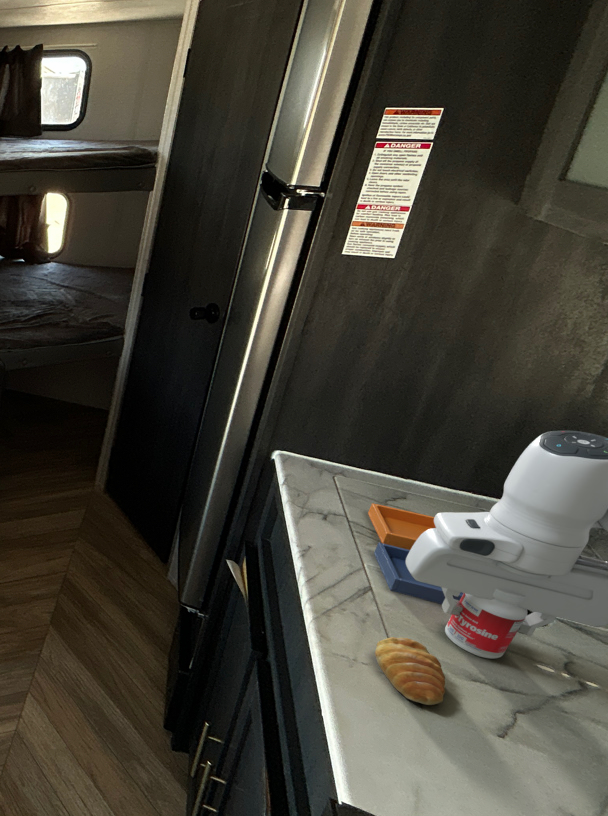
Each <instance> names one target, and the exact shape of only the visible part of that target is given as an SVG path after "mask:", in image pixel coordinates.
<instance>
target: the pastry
mask: <svg viewBox="0 0 608 816" xmlns="http://www.w3.org/2000/svg"><path fill="white" fill-rule="evenodd" d="M374 653H375V658H376V661H377V664H378V666H379V668H380V669H381V671H382V672H383V674H384V675H385V678H387V679H388V681H389V683H391V685H392V687H394V689H396V690H397V691H398V692H399V693H400V694H402V695H403V697H405V698H406V699H407V700H409V701H412V702H416V703H420V704H422V705H426V706H434V705H436V704H440V703H442V702H443V701H444V695H445V693H446V689H445V686H446V675H445V674H444V672H443V669H442V664H441V662H440V661H439V659H438V658H437V656H435V655H433V654H431V653H430V651H428V648H427V647H426V646H425V645H424V644H422V643H421V642H419V641H417V640H413V639H410V638H408V637H394V636H393V637H387V638H384V639H382V640H379V641H378V642H377V643H376V647H375V651H374Z"/></svg>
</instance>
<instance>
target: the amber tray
mask: <svg viewBox="0 0 608 816" xmlns="http://www.w3.org/2000/svg"><path fill="white" fill-rule="evenodd" d="M367 515H368V517H369V519H370V522H371V523H372V525H373V528H374V530H375V532H376V534H377V536H378V538H379V540H380V543H383V544H387V545H391V546H395V547H400V548H404V549H408V550H411V548H412V546H413V545H414V543H415V542H416V540H417V539H418V538H419V536H420V535H421V534H422V533H423V532H425V531H426V530H428V529H432V528H436V527H435V524H434V518H435V516H432V515H427V514H423V513H419V512H414V511H410V510H406V509H405V510H404V509H401V508H395V507H391V506H387V505H382V504H378V503H372V502H371V505H370V507H369V509H368V512H367Z"/></svg>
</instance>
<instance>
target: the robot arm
mask: <svg viewBox="0 0 608 816" xmlns="http://www.w3.org/2000/svg"><path fill="white" fill-rule="evenodd" d="M434 517H435V518H434V524H435V527H436V528H432V529H428V530H426V531H425V532H423V533H422V534H421V535H420V536H419V538H418V539H417V540H416V542H415V543H414V545H413V546H412V548H411V550H410V551H409V553H408V555H407V558H406V566H407V568H408V570H409V572H410V574H411V575H412V576H413V578H414V579H415V580H417V581H420V582H423V583H427V584H431V585H435V586H439V587H441V588H442V590H443V593H444V596H445V600H444V602H443V604H441V609H442V610H443V613H445V614H448V615H450V616H452V615H455V616H460V612H462V610H463V607H462V605H460V601H459V600H456V599H454V598H453V595H454V596H457V597H458V596H459V594H460V592H462V593H466V594H470V595H474V596H477V597H481V598H485V599H490V600H493V599H495V598H494V597H492V596H493V593H494V592H495V590H496V589H499V590H503V591H507V592H511V593H514V594H518V595H522V596H525V599H524V601H523V603H521V604H517V606H518V607H520V608H524V609H527V611H532V612H531V613H529V614H527V616H526V618H525V620H524V621H523V623H522V624H521V626H520V628H519V629H518V631H517V634H522V635H524V636H529V637H532V636H533V634H534V632H535V630H536V629H539V628H542V627H544V626H546V625H549V624H553V623H554V621H555V620H556V619H557V618H559V619H563V620H566V621H571V622H574V623H578V624H582V625H584V626H585V625H586V626H590V627H593V628H601V627H605V626H607V625H608V561H606V560H600V559H596V558H593V557H590V556H586V555H581V554H582V552H583V551H584V549H585V548H586V546H587V545H588V542H589V539H590V532H591V529H603V530H605V531H606V532H608V437H607V436H603V435H599V434H596V433H591V432H585V431H578V430H552V431H547V432H544V433H542V434H540V435H539V436H537V437H536V438H535V439H534V440H533V441H531V442H530V443H529V445H528V446H527V447H525V449H524V450H523V452H522V453H521V454H520V455H519V457H518V458H517V460H516V461H515V463H514V465H513V466H512V468H511V470H510V472H509V474H508V476H507V477H506V479H505V481H504V484H503V493H502V497H501V498H500V499H499V500H498V501H497V502H496V503H495V504H494V505H493V506H492V507H491V509H490V510H489V511H477V512H452V511H451V512H450V511H448V512H447V511H444V512H438V513H436V514H435V516H434Z"/></svg>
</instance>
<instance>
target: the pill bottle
mask: <svg viewBox="0 0 608 816" xmlns="http://www.w3.org/2000/svg"><path fill="white" fill-rule="evenodd" d="M492 597H494V598H495V599H493V600H490V599H485V598H481V597H477V596H474V595H470V594H466V593H463V595H462V597H461V599H460V605H462V607H463V610H462V612H460V616H455V615H450V618H449V620H448V621H447V623H446V625H445V628H444V633H445V635H446V636H447V638H449V640H450V641H451V642H452V643H454V644H455V645H456V646H458V647H459V648H461V649H463V650H464V651H466V652H468V653H470V654H472V655H473V656H474V655H475V656H477V657H480V658H484V659H499V658H502V657H503V656H504V654H505V652H506V651H507V649H508V648H509V646H510V644H511V643H512V641H513V639H514V638H515V636H516V635H517V634H518V632H517V631H518V629H519V628H520V626H521V624H522V623H523V621H524V620H525V618H526V616H527V615H528V611H529V610H528V609H524V608H520V607H518V606H517V604H521V603H523V601H524V599H525V596H522V595H518V594H514V593H511V592H507V591H503V590H499V589H496V590H495V592H494V593H493V596H492Z"/></svg>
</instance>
